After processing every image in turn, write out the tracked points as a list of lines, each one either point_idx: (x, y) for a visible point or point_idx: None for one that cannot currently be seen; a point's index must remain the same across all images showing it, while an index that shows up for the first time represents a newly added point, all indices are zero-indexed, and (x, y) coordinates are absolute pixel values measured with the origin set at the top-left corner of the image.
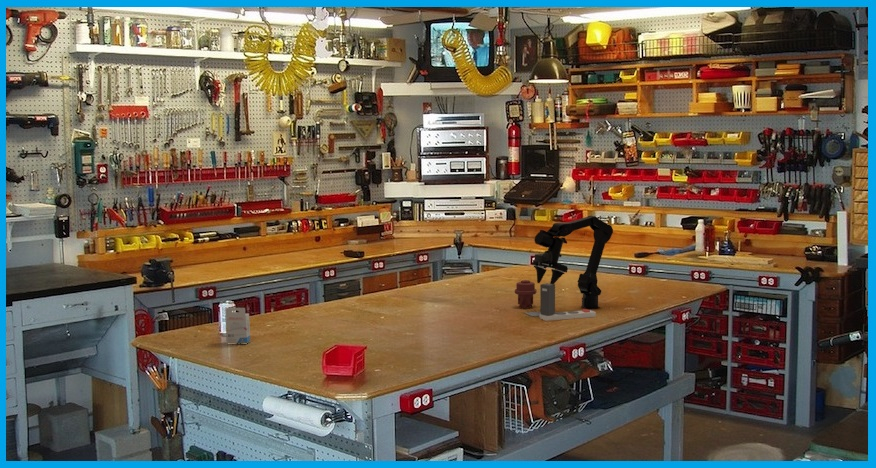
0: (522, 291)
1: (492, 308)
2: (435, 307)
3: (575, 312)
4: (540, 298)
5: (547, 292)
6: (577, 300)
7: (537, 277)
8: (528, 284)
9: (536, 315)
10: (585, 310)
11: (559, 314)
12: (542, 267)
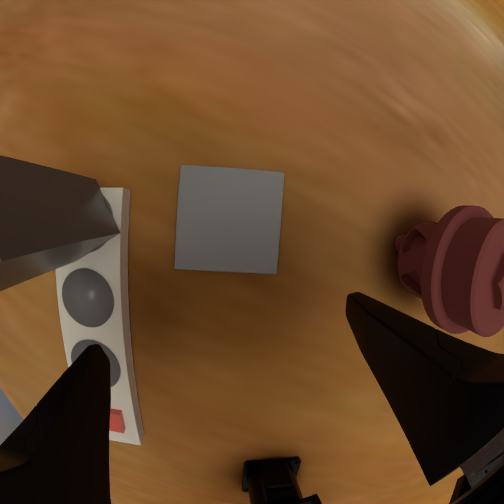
0: (450, 226)
1: (437, 117)
2: (463, 16)
3: None
4: (47, 167)
5: None
6: (395, 457)
7: (398, 318)
8: (475, 277)
9: (182, 194)
10: None
11: (65, 279)
12: (476, 465)
